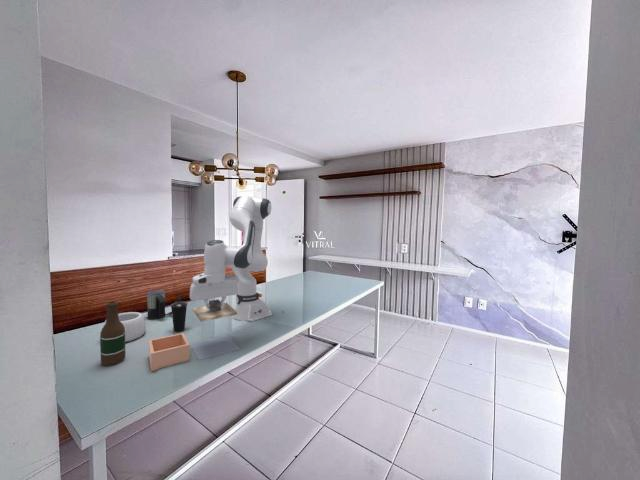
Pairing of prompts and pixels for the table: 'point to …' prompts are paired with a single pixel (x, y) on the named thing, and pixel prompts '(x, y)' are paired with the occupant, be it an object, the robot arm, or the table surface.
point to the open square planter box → (168, 351)
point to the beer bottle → (112, 337)
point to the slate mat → (213, 346)
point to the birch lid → (214, 311)
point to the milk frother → (156, 304)
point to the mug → (132, 325)
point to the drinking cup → (179, 314)
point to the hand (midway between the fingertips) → (214, 306)
